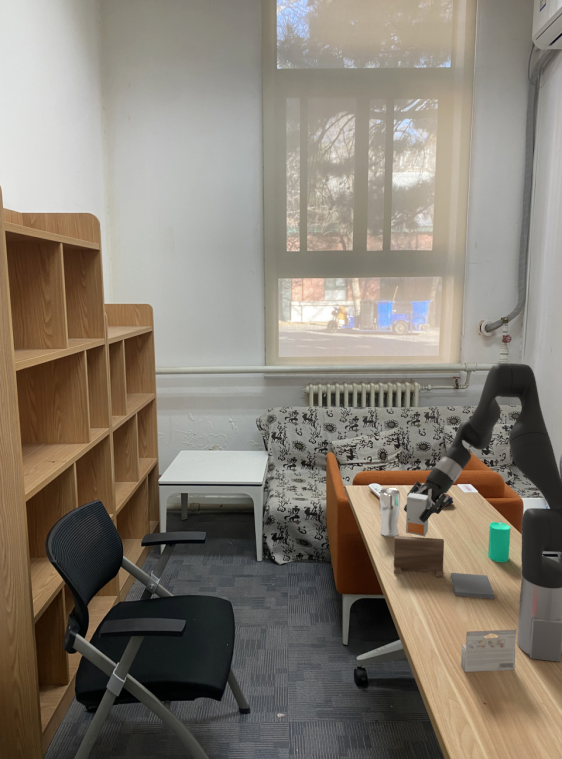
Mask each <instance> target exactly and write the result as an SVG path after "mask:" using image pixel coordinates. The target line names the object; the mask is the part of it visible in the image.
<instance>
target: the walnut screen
mask: <svg viewBox="0 0 562 759" xmlns="http://www.w3.org/2000/svg"><path fill="white" fill-rule="evenodd" d="M393 538H394V540H393V541H394V545H393V552H394V553H393V573H394V574H395V575H402V571H405V572H417V573H429V574H435V576H436V578H445V573H444V572H445V571H444V556H445V555H444V554H445V553H444V552H445V551H444V550H445V547H444V546H445V540H444V538H433V537H432V538H431V537H428V538H427V537H418V536H406V535H405V536H403V535H401V536H400V535H397V536H395V537H393Z"/></svg>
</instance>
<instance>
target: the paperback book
mask: <svg viewBox="0 0 562 759" xmlns="http://www.w3.org/2000/svg"><path fill="white" fill-rule="evenodd" d="M419 483H420V484H422V485H423V484H425V483H426V482H419ZM414 485H415V483H414V484H413V486H414ZM444 494H445V495H446V496H447V497H448V498H449V501H448V503H447V504H446V505H445V506H444V507H446V506H449V505H452V504H453V503H454V501H453V499H454V498H453V497H452V496H451V495H449V494H448V493H444Z"/></svg>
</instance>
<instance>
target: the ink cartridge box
mask: <svg viewBox="0 0 562 759" xmlns="http://www.w3.org/2000/svg"><path fill="white" fill-rule="evenodd" d="M490 634H491V635H492V634H493V635H496V636H498V637H488V638H487V637H485V636H489V635H490ZM516 640H517V629H500V630H499V629H498V630H497V629H496V630H473V631H466V638H465V643H464V644H463V643H462V644H461V652H460V653H461V654H460V656H461V657H460V665H461V668H462V670H463V671H464V673H465V672H466V673H469V672H473V673H474V672H492V671H493V672H496V671H515V668H516V643H517V642H516Z"/></svg>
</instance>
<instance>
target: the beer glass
mask: <svg viewBox="0 0 562 759" xmlns="http://www.w3.org/2000/svg"><path fill="white" fill-rule="evenodd" d="M379 492H380V493H379V507H378V508H379V513H380V518H381V525H380V526H381V527H380V531H379V532H380V535H382V536H383V535H384V536H383V537H386V536H388V537H387V538H394V537H393V536H399V529H398V520H399V515H400V511H401V494H400V493H401V492H400V490H398V489H396V488H389V487H388V488H387V487H386V488H381V489H380V491H379Z"/></svg>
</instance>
